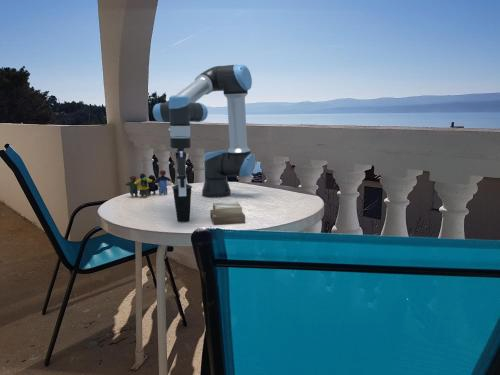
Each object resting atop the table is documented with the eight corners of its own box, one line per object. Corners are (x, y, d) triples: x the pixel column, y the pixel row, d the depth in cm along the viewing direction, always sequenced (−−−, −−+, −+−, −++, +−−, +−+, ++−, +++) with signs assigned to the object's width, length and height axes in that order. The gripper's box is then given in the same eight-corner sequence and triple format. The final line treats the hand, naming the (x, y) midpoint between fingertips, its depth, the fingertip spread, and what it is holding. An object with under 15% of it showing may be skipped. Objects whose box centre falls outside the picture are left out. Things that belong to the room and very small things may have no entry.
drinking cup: (174, 218, 149) (172, 169, 145) (193, 217, 150) (192, 168, 146) (172, 223, 141) (170, 171, 138) (192, 222, 142) (190, 171, 139)
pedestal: (210, 217, 151) (210, 201, 150) (239, 215, 153) (239, 200, 152) (213, 225, 139) (213, 208, 138) (245, 223, 142) (245, 207, 140)
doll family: (165, 192, 204) (164, 168, 202) (174, 194, 198) (173, 169, 195) (125, 197, 189) (123, 172, 187) (133, 200, 183) (131, 174, 180)
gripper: (170, 136, 151) (171, 187, 155) (170, 138, 127) (172, 199, 131) (188, 136, 153) (190, 187, 156) (192, 138, 128) (193, 198, 132)
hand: (182, 192), depth 143 cm, fingers open, 13 cm apart
